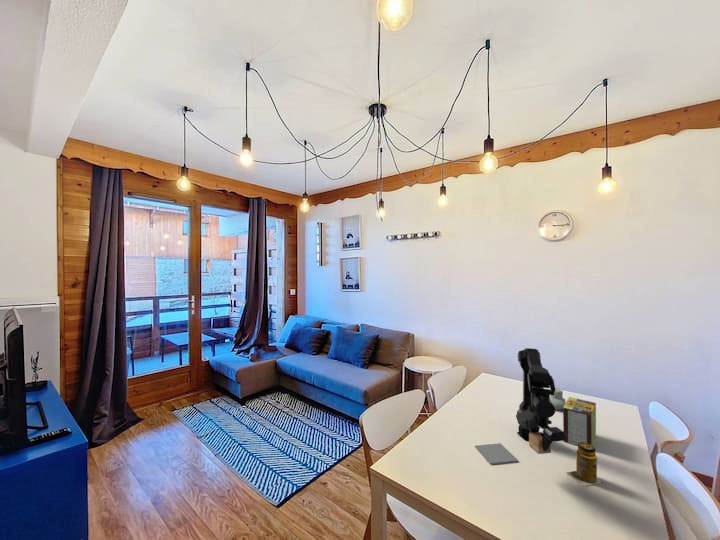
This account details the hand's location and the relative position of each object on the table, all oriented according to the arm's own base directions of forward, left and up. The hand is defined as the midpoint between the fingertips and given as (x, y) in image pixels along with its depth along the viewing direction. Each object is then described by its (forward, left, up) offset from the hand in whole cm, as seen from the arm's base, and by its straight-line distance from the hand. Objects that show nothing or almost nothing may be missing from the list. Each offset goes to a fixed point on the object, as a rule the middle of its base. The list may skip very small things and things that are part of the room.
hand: (539, 446), depth 114 cm
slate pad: (+9, -14, -11) cm, 20 cm away
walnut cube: (0, 0, -1) cm, 1 cm away
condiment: (-15, +4, -11) cm, 19 cm away
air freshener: (-48, -48, -11) cm, 69 cm away
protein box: (-35, -19, -11) cm, 42 cm away
